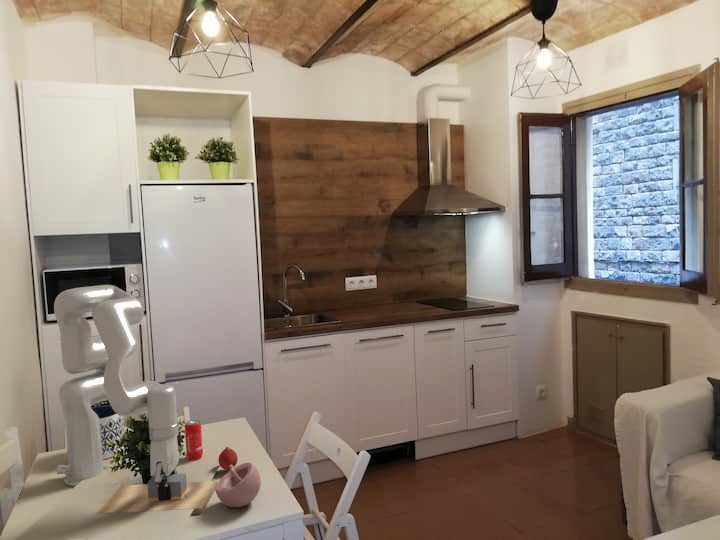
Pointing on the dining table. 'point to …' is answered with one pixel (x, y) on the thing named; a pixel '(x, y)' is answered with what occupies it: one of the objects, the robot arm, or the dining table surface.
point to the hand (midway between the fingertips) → (168, 494)
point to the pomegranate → (227, 458)
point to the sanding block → (176, 487)
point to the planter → (109, 428)
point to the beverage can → (193, 439)
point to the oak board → (137, 500)
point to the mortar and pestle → (239, 485)
